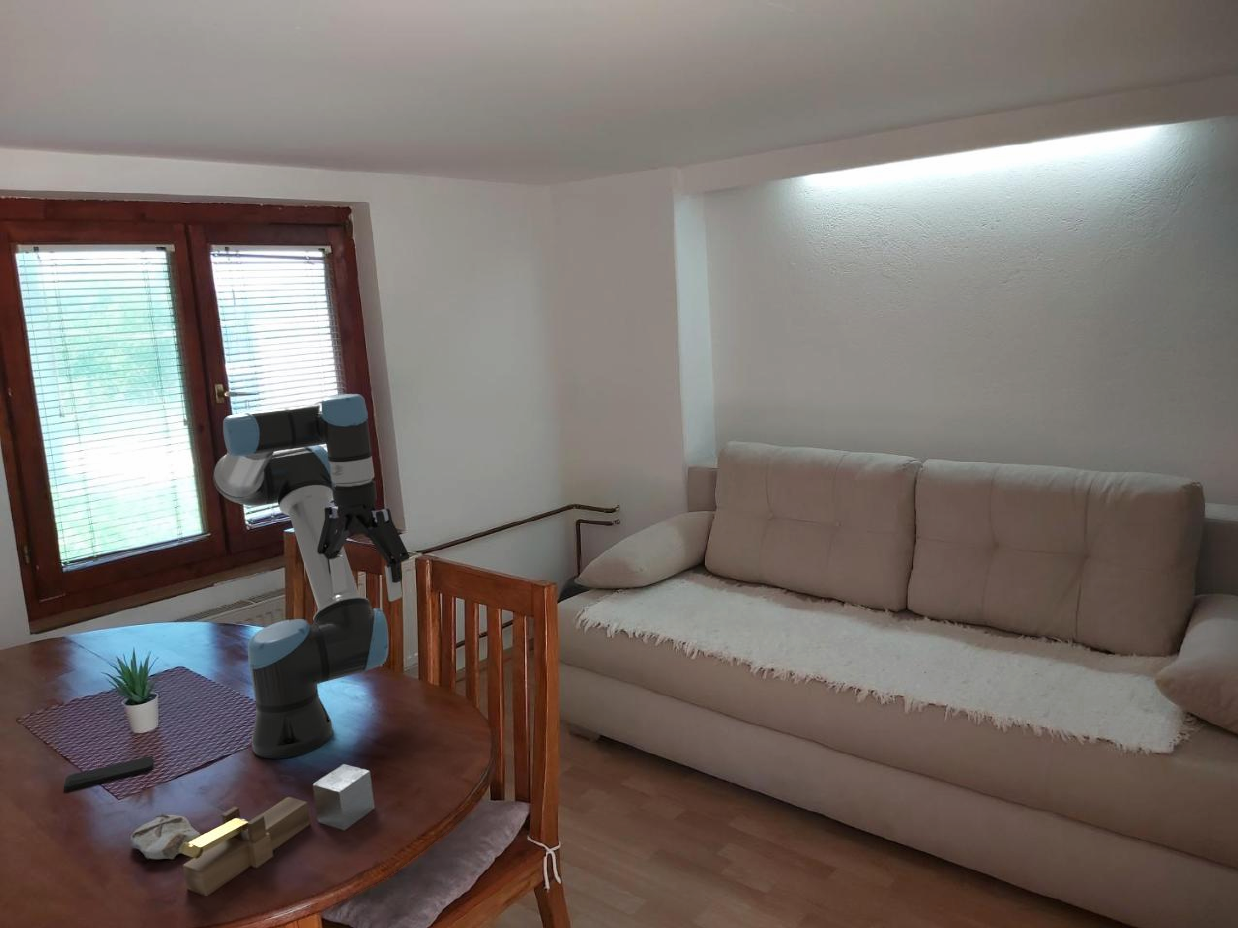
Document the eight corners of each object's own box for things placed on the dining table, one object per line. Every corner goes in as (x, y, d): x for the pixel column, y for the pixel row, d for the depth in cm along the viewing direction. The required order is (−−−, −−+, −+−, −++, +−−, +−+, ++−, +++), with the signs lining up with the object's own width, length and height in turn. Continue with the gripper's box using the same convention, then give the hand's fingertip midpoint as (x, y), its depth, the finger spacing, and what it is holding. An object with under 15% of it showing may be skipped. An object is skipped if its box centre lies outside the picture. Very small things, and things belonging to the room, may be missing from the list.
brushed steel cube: (318, 822, 154) (312, 784, 152) (348, 800, 160) (343, 763, 158) (344, 830, 151) (339, 791, 149) (374, 808, 157) (369, 770, 155)
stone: (122, 846, 151) (118, 828, 150) (178, 819, 158) (174, 801, 157) (154, 872, 143) (150, 854, 143) (211, 843, 150) (208, 825, 149)
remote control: (155, 763, 179) (66, 781, 173) (154, 754, 179) (65, 773, 173) (154, 774, 175) (63, 794, 169) (153, 765, 175) (62, 785, 168)
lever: (238, 822, 146) (177, 854, 136) (237, 812, 145) (177, 844, 136) (255, 828, 144) (195, 861, 134) (254, 818, 144) (194, 850, 134)
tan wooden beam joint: (181, 886, 139) (173, 843, 138) (285, 816, 156) (280, 777, 155) (212, 898, 135) (205, 855, 134) (316, 825, 153) (310, 786, 151)
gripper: (287, 482, 167) (303, 594, 171) (391, 490, 155) (405, 609, 159) (319, 474, 174) (333, 581, 178) (421, 480, 162) (433, 595, 166)
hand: (367, 594), depth 169 cm, fingers open, 13 cm apart
